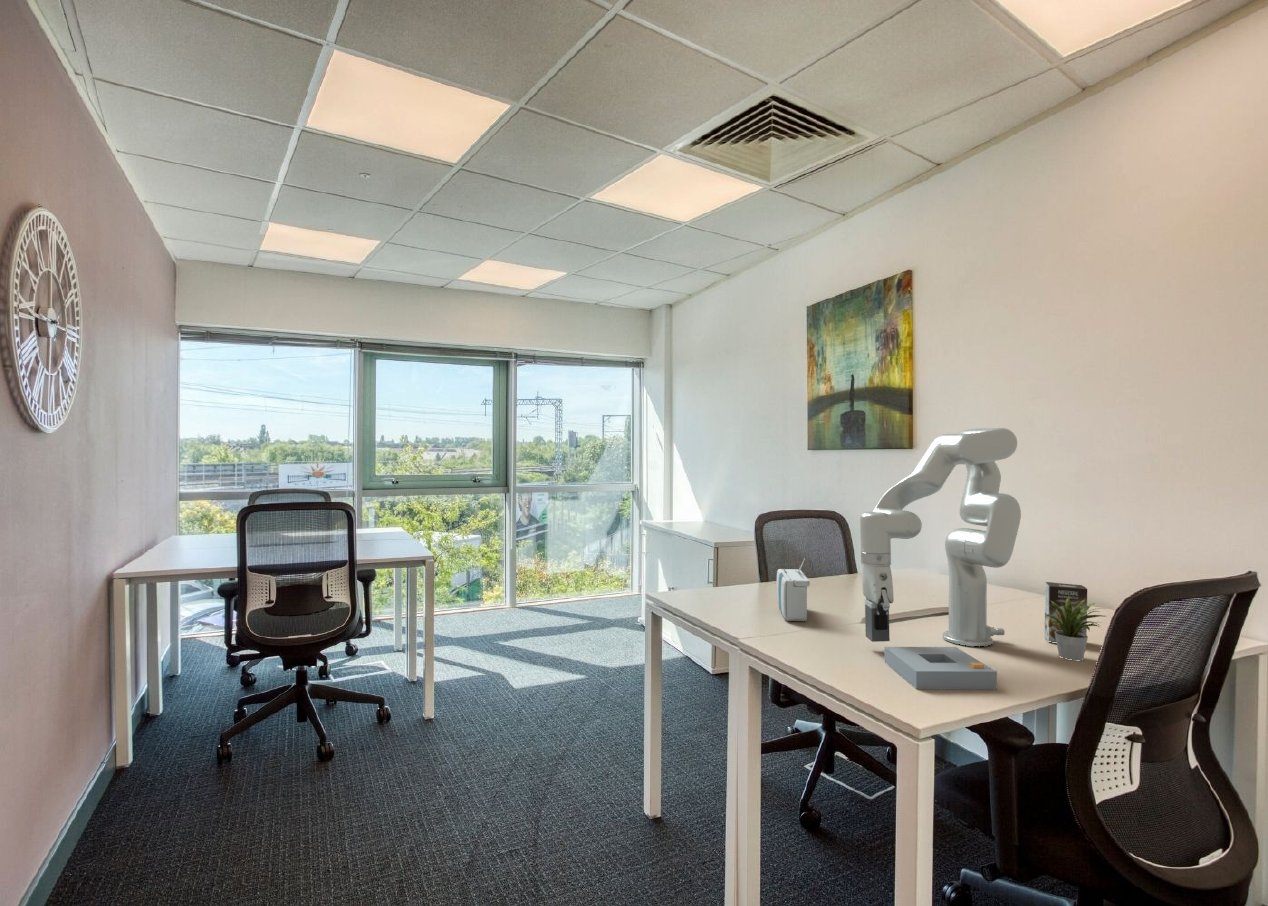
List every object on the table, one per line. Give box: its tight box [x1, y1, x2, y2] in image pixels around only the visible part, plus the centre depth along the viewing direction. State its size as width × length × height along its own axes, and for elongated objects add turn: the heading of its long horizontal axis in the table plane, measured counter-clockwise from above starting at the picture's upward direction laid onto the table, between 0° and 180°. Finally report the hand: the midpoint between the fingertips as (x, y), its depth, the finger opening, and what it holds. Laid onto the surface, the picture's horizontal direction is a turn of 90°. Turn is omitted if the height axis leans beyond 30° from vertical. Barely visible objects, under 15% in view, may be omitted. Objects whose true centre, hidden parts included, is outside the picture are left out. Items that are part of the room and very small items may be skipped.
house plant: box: [1046, 594, 1106, 660], centre depth 163 cm, size 14×14×16 cm
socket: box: [883, 646, 998, 690], centre depth 151 cm, size 18×18×5 cm
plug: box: [864, 599, 891, 643], centre depth 169 cm, size 5×5×10 cm
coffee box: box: [1044, 581, 1088, 642], centre depth 178 cm, size 9×6×16 cm
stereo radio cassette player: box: [776, 557, 811, 622], centre depth 208 cm, size 21×8×20 cm, turn 173°
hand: (877, 626), depth 170 cm, fingers closed on plug, 4 cm apart
